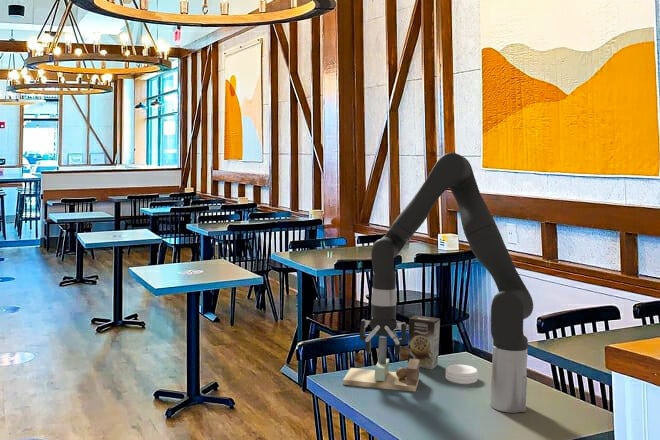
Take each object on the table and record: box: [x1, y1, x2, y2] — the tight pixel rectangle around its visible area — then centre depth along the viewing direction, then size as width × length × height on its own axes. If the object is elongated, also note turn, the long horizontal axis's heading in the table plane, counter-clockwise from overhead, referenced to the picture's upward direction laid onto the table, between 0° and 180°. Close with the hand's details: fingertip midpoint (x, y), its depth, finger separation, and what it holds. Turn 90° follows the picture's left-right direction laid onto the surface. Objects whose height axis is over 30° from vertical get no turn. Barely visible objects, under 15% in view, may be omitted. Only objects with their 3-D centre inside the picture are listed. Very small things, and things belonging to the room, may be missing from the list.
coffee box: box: [407, 314, 441, 370], centre depth 210 cm, size 9×6×16 cm
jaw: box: [374, 336, 390, 381], centre depth 192 cm, size 3×10×12 cm, turn 167°
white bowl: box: [445, 364, 479, 385], centre depth 197 cm, size 10×10×4 cm
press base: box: [342, 359, 420, 393], centre depth 192 cm, size 22×12×6 cm, turn 77°
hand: (382, 354), depth 192 cm, fingers open, 8 cm apart
